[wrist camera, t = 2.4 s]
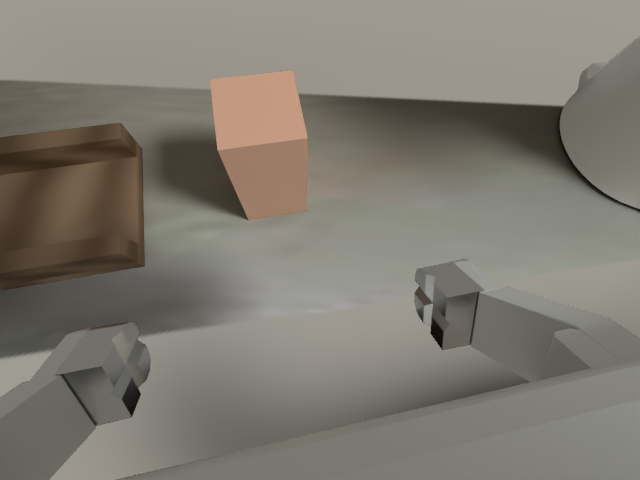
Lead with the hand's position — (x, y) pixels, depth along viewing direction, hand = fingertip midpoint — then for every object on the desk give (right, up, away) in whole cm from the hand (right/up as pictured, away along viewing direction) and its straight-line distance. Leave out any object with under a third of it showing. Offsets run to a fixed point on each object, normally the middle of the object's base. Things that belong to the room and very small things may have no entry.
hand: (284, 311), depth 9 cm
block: (-3, +7, +19) cm, 20 cm away
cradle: (-22, +4, +17) cm, 28 cm away
